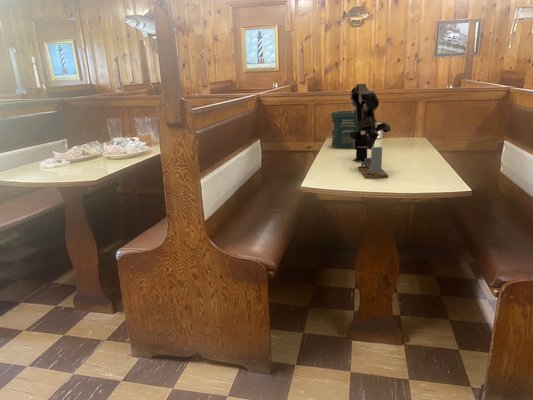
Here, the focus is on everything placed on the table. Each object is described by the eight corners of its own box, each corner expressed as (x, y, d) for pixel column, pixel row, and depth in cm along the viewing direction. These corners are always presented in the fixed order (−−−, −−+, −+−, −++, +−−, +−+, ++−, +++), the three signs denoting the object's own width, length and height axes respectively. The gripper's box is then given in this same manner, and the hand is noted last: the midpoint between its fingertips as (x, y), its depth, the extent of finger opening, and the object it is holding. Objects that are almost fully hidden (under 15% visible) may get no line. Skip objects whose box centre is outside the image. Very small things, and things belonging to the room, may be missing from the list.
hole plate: (357, 168, 209) (358, 158, 207) (378, 168, 208) (379, 157, 207) (365, 178, 190) (365, 167, 189) (388, 177, 190) (388, 166, 188)
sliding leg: (366, 172, 193) (367, 147, 190) (379, 172, 193) (380, 146, 189) (368, 174, 190) (368, 148, 187) (381, 174, 190) (382, 147, 187)
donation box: (357, 149, 258) (358, 101, 250) (330, 148, 263) (330, 101, 255) (360, 144, 272) (361, 98, 264) (334, 144, 277) (334, 99, 269)
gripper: (342, 117, 205) (344, 149, 202) (378, 107, 192) (380, 141, 190) (354, 123, 213) (356, 154, 210) (390, 113, 200) (392, 146, 198)
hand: (370, 149), depth 202 cm, fingers closed
